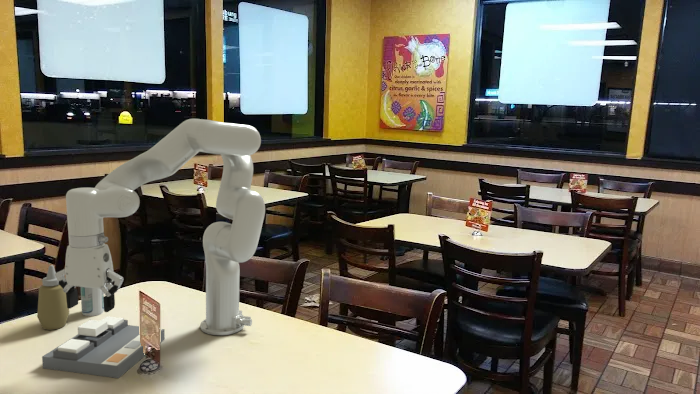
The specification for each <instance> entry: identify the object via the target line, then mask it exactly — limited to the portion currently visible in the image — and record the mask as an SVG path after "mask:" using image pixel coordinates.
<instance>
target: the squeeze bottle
mask: <svg viewBox="0 0 700 394" xmlns="http://www.w3.org/2000/svg"><path fill="white" fill-rule="evenodd" d="M47 269H48V270H47V273H46V277H43V278H42V280H41V281H42V285H41V286H40V287H39V288H38V298H37V299H38V301H37V315H36V317H37V319H38V321H39V323H40V325H41V327H42V329H43V330H49V331H50V330H51V331H52V330H57V329H61V328H63V327H64V326H66V325H67V321H68V318H69V314H70V309H69V308H67V300H66V293H65V292H64V291H63V288H62V287H61V286H60V285H59V281H58V280H57V278H56V276H55V273H57V271H56V268H55V266H54V265H53V264H51V265H48V268H47Z"/></svg>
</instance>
